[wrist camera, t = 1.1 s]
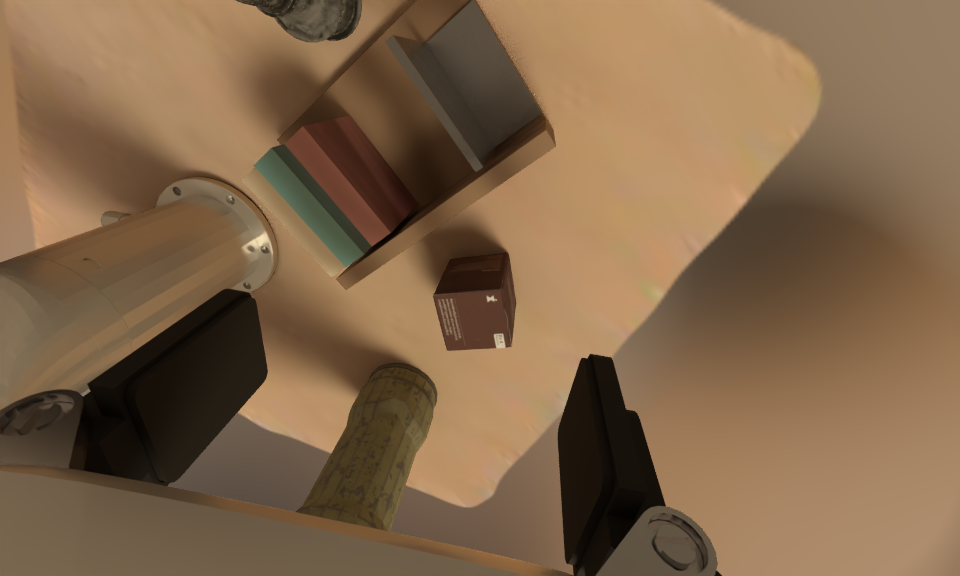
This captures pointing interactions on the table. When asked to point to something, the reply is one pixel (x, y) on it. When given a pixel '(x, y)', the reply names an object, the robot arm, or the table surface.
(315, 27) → the dark grey chess piece
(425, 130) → the shelf
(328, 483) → the robed figure statue
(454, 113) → the bookend
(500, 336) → the box
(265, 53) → the table surface
